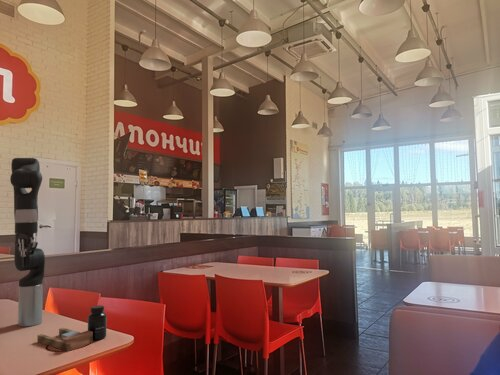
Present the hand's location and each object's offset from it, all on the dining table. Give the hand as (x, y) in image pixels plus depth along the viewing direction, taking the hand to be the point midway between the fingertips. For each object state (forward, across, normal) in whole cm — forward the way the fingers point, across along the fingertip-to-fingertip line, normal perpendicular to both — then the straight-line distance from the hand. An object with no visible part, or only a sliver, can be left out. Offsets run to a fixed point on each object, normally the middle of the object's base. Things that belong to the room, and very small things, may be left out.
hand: (25, 266), depth 142 cm
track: (+29, +13, +8) cm, 33 cm away
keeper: (+29, +17, +8) cm, 35 cm away
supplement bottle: (+29, +20, +17) cm, 39 cm away
